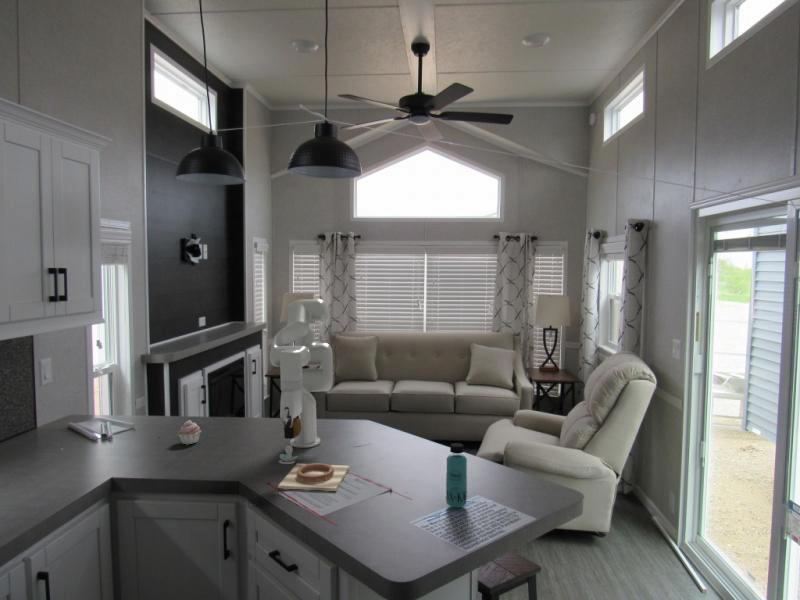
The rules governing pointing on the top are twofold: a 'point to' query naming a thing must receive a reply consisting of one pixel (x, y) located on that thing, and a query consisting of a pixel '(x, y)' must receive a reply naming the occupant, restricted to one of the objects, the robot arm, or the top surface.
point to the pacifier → (287, 456)
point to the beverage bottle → (456, 477)
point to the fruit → (296, 426)
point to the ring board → (317, 485)
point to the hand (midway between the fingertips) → (292, 434)
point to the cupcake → (189, 433)
